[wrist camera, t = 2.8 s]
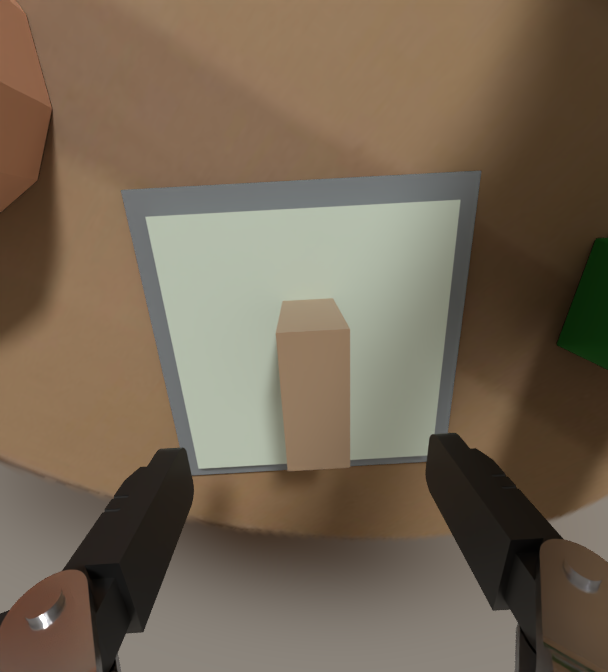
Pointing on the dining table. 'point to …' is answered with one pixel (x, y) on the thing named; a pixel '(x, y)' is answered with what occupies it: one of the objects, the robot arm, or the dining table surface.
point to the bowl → (20, 105)
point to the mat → (295, 197)
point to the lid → (308, 329)
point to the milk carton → (590, 310)
